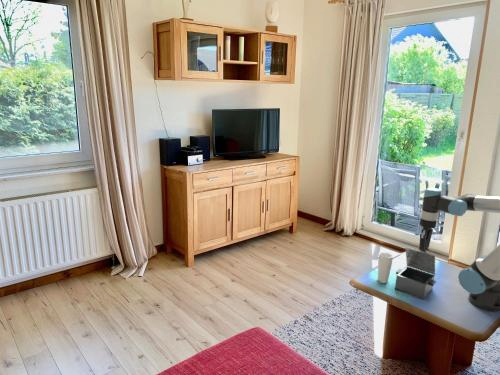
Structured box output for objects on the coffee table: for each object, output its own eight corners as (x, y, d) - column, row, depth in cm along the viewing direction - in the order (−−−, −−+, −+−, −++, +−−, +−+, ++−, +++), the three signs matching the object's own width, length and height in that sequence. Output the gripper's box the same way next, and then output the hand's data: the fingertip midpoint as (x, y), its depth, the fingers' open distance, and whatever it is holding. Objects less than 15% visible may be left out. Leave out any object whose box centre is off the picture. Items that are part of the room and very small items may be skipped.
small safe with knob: (436, 290, 186) (439, 276, 184) (427, 301, 176) (430, 286, 174) (401, 278, 198) (403, 265, 196) (390, 287, 188) (392, 273, 186)
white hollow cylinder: (390, 285, 191) (394, 258, 187) (376, 283, 192) (380, 257, 188) (388, 278, 197) (391, 253, 194) (375, 277, 199) (378, 251, 195)
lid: (434, 274, 186) (436, 270, 187) (434, 256, 178) (436, 252, 180) (406, 265, 195) (408, 262, 196) (405, 247, 187) (407, 243, 189)
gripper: (425, 213, 190) (418, 255, 197) (416, 219, 181) (409, 263, 188) (440, 217, 186) (433, 259, 192) (432, 223, 176) (425, 268, 183)
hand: (421, 261), depth 190 cm, fingers closed
